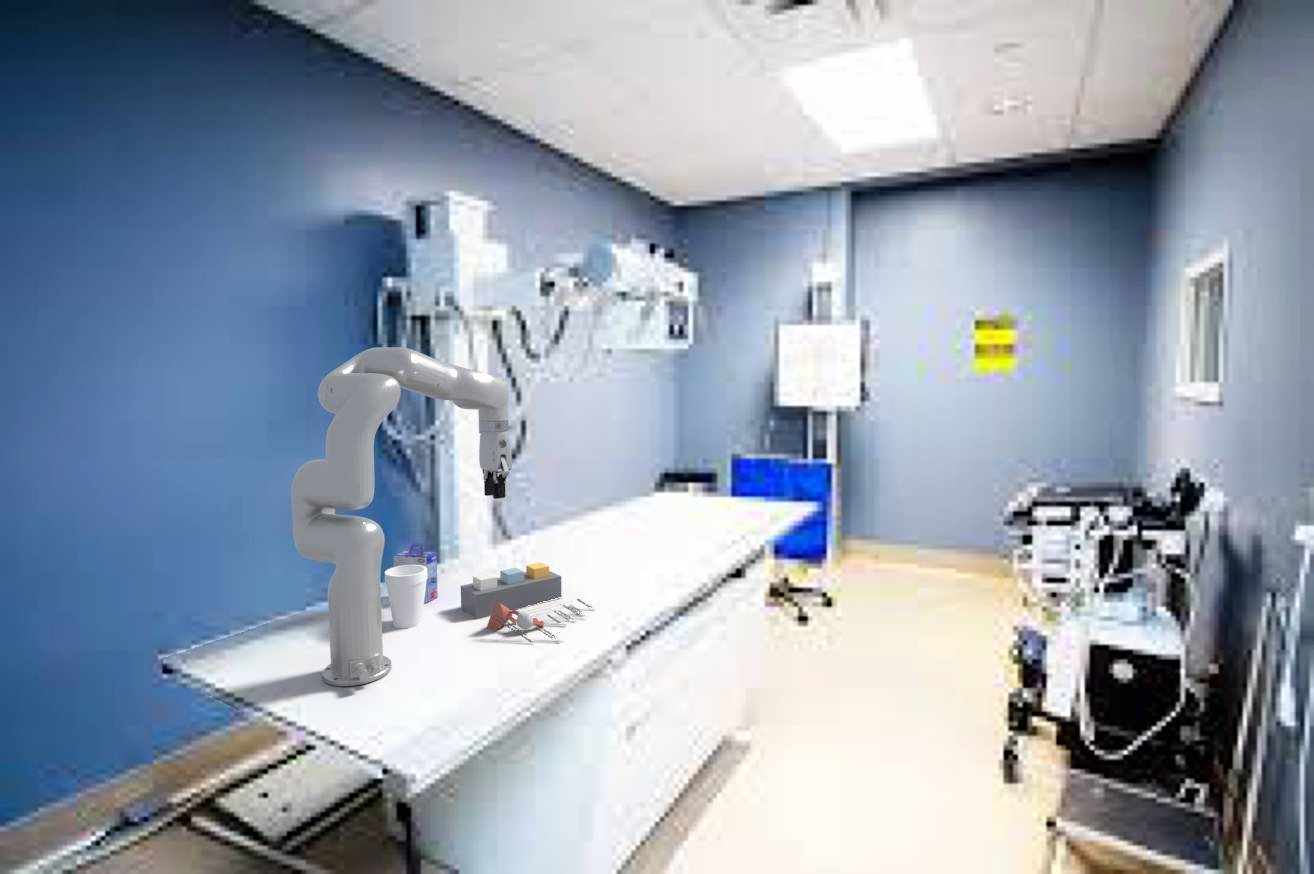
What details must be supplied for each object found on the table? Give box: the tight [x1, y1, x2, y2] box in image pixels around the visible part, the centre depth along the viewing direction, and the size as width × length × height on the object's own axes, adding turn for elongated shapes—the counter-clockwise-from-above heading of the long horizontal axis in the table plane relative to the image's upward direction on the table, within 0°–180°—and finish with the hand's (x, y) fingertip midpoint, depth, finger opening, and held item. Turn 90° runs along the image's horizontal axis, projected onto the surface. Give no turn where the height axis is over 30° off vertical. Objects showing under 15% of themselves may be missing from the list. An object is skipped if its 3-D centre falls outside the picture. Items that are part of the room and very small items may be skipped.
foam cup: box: [384, 565, 428, 630], centre depth 160 cm, size 10×9×13 cm
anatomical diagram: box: [486, 598, 592, 642], centre depth 162 cm, size 21×9×25 cm
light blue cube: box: [499, 567, 525, 585], centre depth 175 cm, size 4×4×4 cm
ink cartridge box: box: [393, 542, 438, 604], centre depth 178 cm, size 10×6×14 cm, turn 78°
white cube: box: [472, 572, 498, 591], centre depth 170 cm, size 4×4×4 cm
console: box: [460, 570, 562, 620], centre depth 175 cm, size 9×24×6 cm, turn 130°
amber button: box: [525, 562, 550, 579], centre depth 179 cm, size 4×4×4 cm
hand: (494, 495), depth 177 cm, fingers open, 4 cm apart
